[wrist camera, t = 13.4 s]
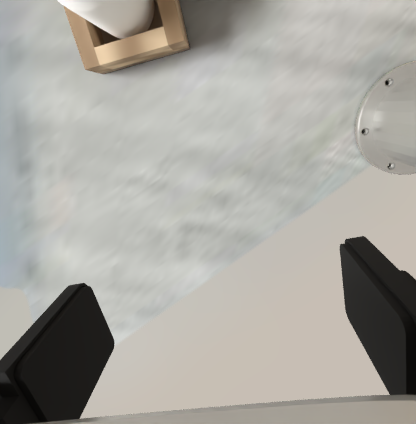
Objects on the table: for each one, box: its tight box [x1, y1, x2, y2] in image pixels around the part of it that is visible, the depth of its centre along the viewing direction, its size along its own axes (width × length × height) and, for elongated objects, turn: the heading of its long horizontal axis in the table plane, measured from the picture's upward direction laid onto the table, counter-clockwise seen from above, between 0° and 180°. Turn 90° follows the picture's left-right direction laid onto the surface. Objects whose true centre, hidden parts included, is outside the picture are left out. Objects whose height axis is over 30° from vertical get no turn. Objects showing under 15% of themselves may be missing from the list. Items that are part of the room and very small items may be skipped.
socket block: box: [63, 0, 190, 74], centre depth 30 cm, size 11×11×4 cm
